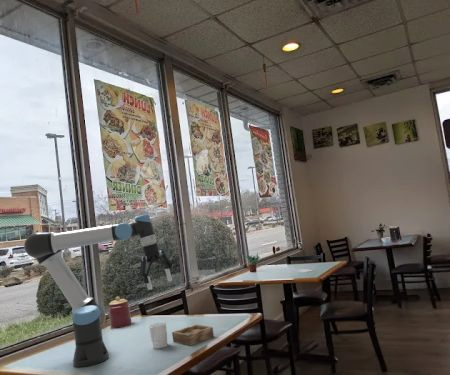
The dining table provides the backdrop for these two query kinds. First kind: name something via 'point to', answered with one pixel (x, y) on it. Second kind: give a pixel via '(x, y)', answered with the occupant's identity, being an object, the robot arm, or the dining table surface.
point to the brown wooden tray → (192, 334)
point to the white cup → (158, 335)
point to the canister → (119, 313)
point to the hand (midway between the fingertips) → (160, 285)
